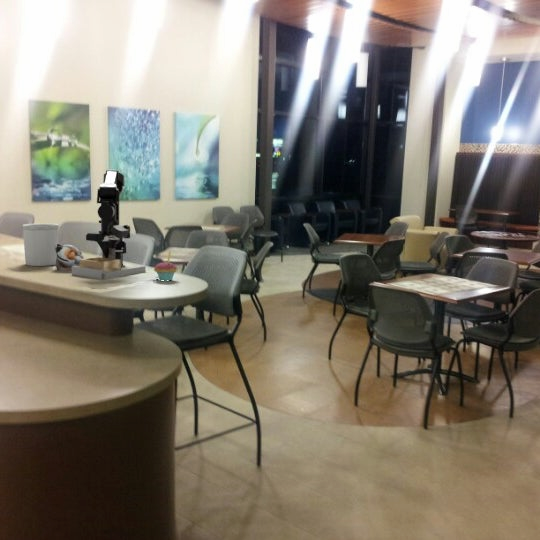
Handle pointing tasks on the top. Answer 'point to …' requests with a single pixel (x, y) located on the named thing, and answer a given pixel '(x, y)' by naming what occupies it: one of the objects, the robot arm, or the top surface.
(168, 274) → the cupcake
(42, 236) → the utensil holder
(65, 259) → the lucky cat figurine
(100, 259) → the crate
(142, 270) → the tray
